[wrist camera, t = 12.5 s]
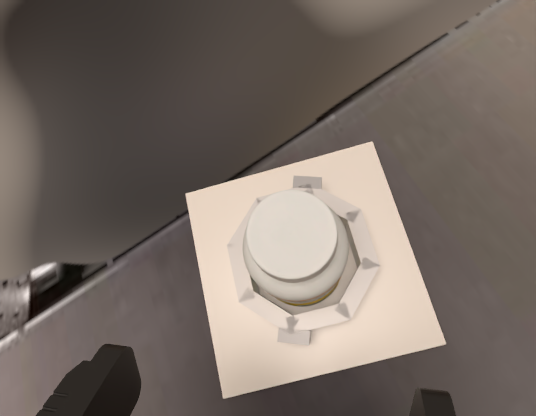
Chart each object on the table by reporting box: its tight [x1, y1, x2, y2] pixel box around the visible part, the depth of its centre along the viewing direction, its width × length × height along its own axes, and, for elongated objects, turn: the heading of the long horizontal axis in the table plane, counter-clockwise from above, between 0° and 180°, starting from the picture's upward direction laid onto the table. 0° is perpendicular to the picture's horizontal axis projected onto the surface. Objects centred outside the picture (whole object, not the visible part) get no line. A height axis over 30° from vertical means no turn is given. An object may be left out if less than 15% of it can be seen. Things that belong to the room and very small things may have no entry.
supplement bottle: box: [243, 190, 349, 307], centre depth 21 cm, size 5×5×10 cm
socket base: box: [186, 142, 446, 399], centre depth 25 cm, size 14×14×4 cm
